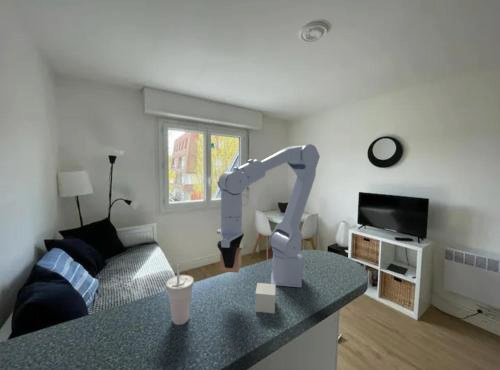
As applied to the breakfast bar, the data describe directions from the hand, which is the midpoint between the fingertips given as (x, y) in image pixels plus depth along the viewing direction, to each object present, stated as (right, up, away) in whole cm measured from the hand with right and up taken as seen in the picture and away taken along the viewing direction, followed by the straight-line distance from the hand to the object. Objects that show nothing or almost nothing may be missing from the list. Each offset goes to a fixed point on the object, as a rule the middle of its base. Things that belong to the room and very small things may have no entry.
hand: (231, 262), depth 62 cm
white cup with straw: (-11, -11, -8) cm, 18 cm away
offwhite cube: (+9, -11, -3) cm, 14 cm away
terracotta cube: (0, -1, 0) cm, 1 cm away
